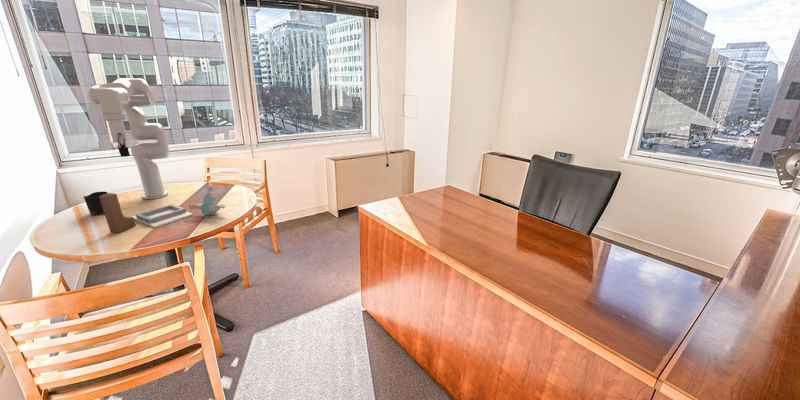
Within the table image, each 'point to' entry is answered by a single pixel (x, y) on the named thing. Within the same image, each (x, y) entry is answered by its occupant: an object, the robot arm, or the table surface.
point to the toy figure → (208, 203)
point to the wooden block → (115, 214)
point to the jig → (162, 215)
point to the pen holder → (94, 203)
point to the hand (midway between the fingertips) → (124, 154)
